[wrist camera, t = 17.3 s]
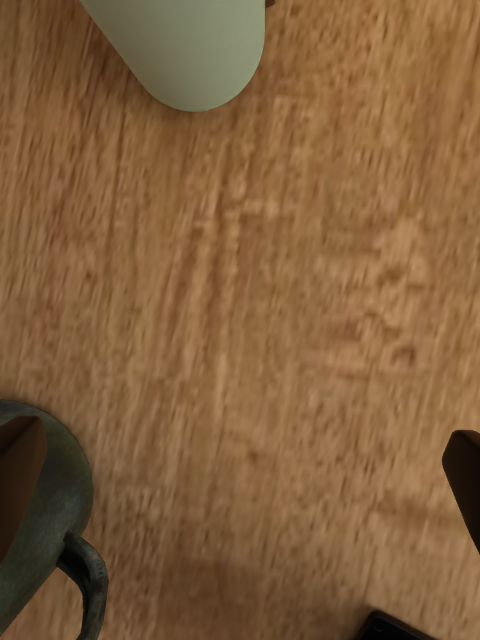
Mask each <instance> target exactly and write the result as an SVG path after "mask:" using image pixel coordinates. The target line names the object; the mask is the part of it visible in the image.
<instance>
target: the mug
mask: <svg viewBox="0 0 480 640" xmlns="http://www.w3.org/2000/svg"><path fill="white" fill-rule="evenodd" d="M18 415H38V416H40V417H41V418H42V421H43V425H44V430H45V436H46V441H47V454H46V457H45V460H44V463H43V466H42V468H41V471H40V474H39V476H38V479H37V482H36V484H35V487H34V490H33V493H32V495H31V498H30V501H29V503H28V506H27V509H26V512H25V514H24V517H23V519H22V522H21V524H20V527H19V529H18V532H17V534H16V536H15V538H14V540H13V542H12V544H11V546H10V548H9V551H8V553H7V555H6V557H5V559H4V561H3V563H2V565H1V567H0V636H1V635H2V634H3V633H4V631H5V630H6V629H7V628H8V626H9V625H10V624H11V623H12V621H13V620H14V619H15V618H16V616H17V615H18V614H19V613H20V611H21V610H22V609H23V608H24V606H25V605H26V604H27V603H28V602H29V600H30V599H31V598H32V597H33V595H34V594H35V593H36V592H37V590H38V589H39V588H40V587H41V585H42V584H43V583H44V582H45V580H46V579H47V578H48V577H49V575H50V574H51V573H52V572H53V571H54V569H55V568H56V567H58V568H60V569H61V570H62V571H63V572H65V573H66V574H67V575H68V576H69V577H70V578H71V579H72V580H73V581H74V582H75V583H76V584H77V585H78V587H79V589H80V591H81V593H82V597H83V609H84V611H83V620H82V628H81V633H80V635H79V636H78V638H77V639H76V640H97V639H98V637H99V634H100V631H101V628H102V625H103V620H104V614H105V608H106V600H107V591H108V583H109V580H108V575H107V570H106V565H105V562H104V560H103V559H102V558H101V556H100V555H99V553H98V552H97V550H96V549H95V548H94V547H92V546H91V545H90V544H89V543H88V542H86V541H85V540H84V539H83V538H82V537H81V535H82V533H83V532H84V530H85V528H86V526H87V523H88V521H89V518H90V515H91V510H92V505H93V485H92V477H91V471H90V468H89V464H88V461H87V459H86V456H85V454H84V452H83V450H82V448H81V447H80V445H79V443H78V442H77V440H76V439H75V437H74V436H73V435H72V434H71V433H70V432H69V431H68V429H67V428H66V427H64V426H63V425H62V424H61V423H60V422H59V421H58V420H56V419H55V418H53V417H52V416H50V415H49V414H47V413H45V412H43V411H41V410H39V409H37V408H34V407H32V406H30V405H26V404H23V403H19V402H15V401H7V400H0V426H1V425H3V424H4V423H6V422H8V421H9V420H11V419H13V418H14V417H16V416H18Z"/></svg>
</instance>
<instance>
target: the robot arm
mask: <svg viewBox="0 0 480 640" xmlns="http://www.w3.org/2000/svg"><path fill="white" fill-rule="evenodd" d="M46 454H47V441H46V436H45V430H44V425H43V421H42V418H41V417H40V416H38V415H18V416H16V417H14V418H13V419H11V420H9V421H8V422H6V423H4V424H3V425H1V426H0V567H1V565H2V563H3V561H4V559H5V557H6V555H7V553H8V551H9V548H10V546H11V544H12V542H13V540H14V538H15V536H16V534H17V532H18V529H19V527H20V524H21V522H22V519H23V517H24V514H25V512H26V509H27V506H28V503H29V501H30V498H31V495H32V493H33V490H34V487H35V484H36V482H37V479H38V476H39V474H40V471H41V468H42V466H43V463H44V460H45V457H46ZM442 465H443V469H444V471H445V474H446V476H447V479H448V481H449V484H450V486H451V489H452V491H453V494H454V496H455V499H456V502H457V504H458V507H459V509H460V512H461V514H462V517H463V519H464V522H465V524H466V526H467V529H468V531H469V533H470V536H471V538H472V540H473V542H474V544H475V546H476V548H477V550H478V552H479V554H480V433H478V432H476V431H473V430H455V431H454V432H453V433H452V434H451V437H450V439H449V441H448V444H447V446H446V449H445V451H444V453H443V456H442ZM377 622H381V623H380V624H376V623H377ZM355 640H434V639H432V638H430V637H428V636H426V635H424V634H422V633H420V632H419V631H417V630H415V629H413V628H411V627H409V626H407V625H405V624H403V623H401V622H400V621H398V620H396V619H394V618H392V617H390V616H388V615H386V614H384V613H382V612H380V611H374V612H372V613H371V614H370V615H369V616H368V618H367V620H366V622H365V623H364V625H363V627H362V628H361V630H360V632H359V634H358V635H357V637H356V639H355Z"/></svg>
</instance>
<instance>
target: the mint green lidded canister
mask: <svg viewBox="0 0 480 640" xmlns="http://www.w3.org/2000/svg"><path fill="white" fill-rule="evenodd" d="M79 2H80V3H81V4H82V6H83V7H84V8H85V10H86V11H87V12H88V14H89V15H90V16H91V18H92V19H93V20H94V22H95V23H96V24H97V26H98V27H99V28H100V30H101V31H102V32H103V34H104V35H105V36H106V38H107V39H108V40H109V42H110V43H111V44H112V46H113V47H114V48H115V50H116V51H117V52H118V54H119V55H120V56H121V58H122V59H123V60H124V62H125V63H126V64H127V66H128V67H129V68H130V70H131V71H132V72H133V74H134V75H135V76H136V78H137V79H138V80H139V82H140V83H141V84H142V85H143V87H144V88H145V89H146V90H147V91H148V92H149V93H150V94H151V95H152V96H153V97H154V98H156V99H157V100H159V101H160V102H161V103H163V104H165V105H167V106H169V107H172V108H175V109H178V110H183V111H192V112H197V111H206V110H210V109H214V108H216V107H219V106H221V105H223V104H225V103H227V102H228V101H230V100H231V99H233V98H234V97H235V96H236V95H238V94H239V93H240V92H241V91H242V90H243V89H244V87H245V86H246V85H247V84H248V82H249V81H250V80H251V78H252V76H253V75H254V73H255V71H256V69H257V67H258V64H259V62H260V59H261V55H262V52H263V46H264V39H265V0H79Z"/></svg>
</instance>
